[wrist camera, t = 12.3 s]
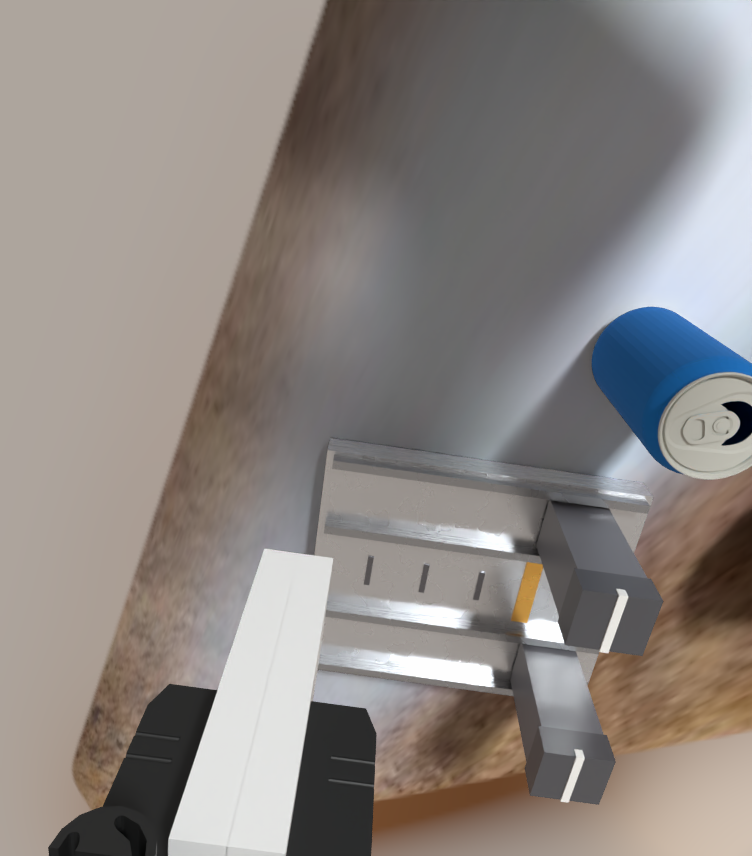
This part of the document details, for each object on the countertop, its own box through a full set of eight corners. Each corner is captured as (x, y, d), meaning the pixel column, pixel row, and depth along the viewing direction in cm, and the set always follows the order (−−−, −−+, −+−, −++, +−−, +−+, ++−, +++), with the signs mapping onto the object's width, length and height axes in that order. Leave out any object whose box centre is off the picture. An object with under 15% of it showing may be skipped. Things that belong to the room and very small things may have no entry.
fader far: (519, 639, 50) (544, 753, 41) (577, 647, 51) (616, 762, 41) (507, 678, 52) (530, 797, 43) (564, 686, 52) (598, 806, 43)
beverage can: (692, 391, 45) (786, 477, 34) (591, 407, 45) (652, 496, 34) (691, 295, 42) (792, 353, 31) (584, 313, 43) (647, 377, 32)
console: (330, 437, 47) (325, 456, 44) (643, 482, 47) (658, 504, 45) (304, 641, 54) (299, 669, 51) (576, 679, 55) (586, 708, 52)
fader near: (546, 497, 46) (583, 590, 36) (611, 506, 46) (664, 601, 36) (533, 545, 47) (565, 647, 38) (595, 554, 47) (642, 657, 38)
